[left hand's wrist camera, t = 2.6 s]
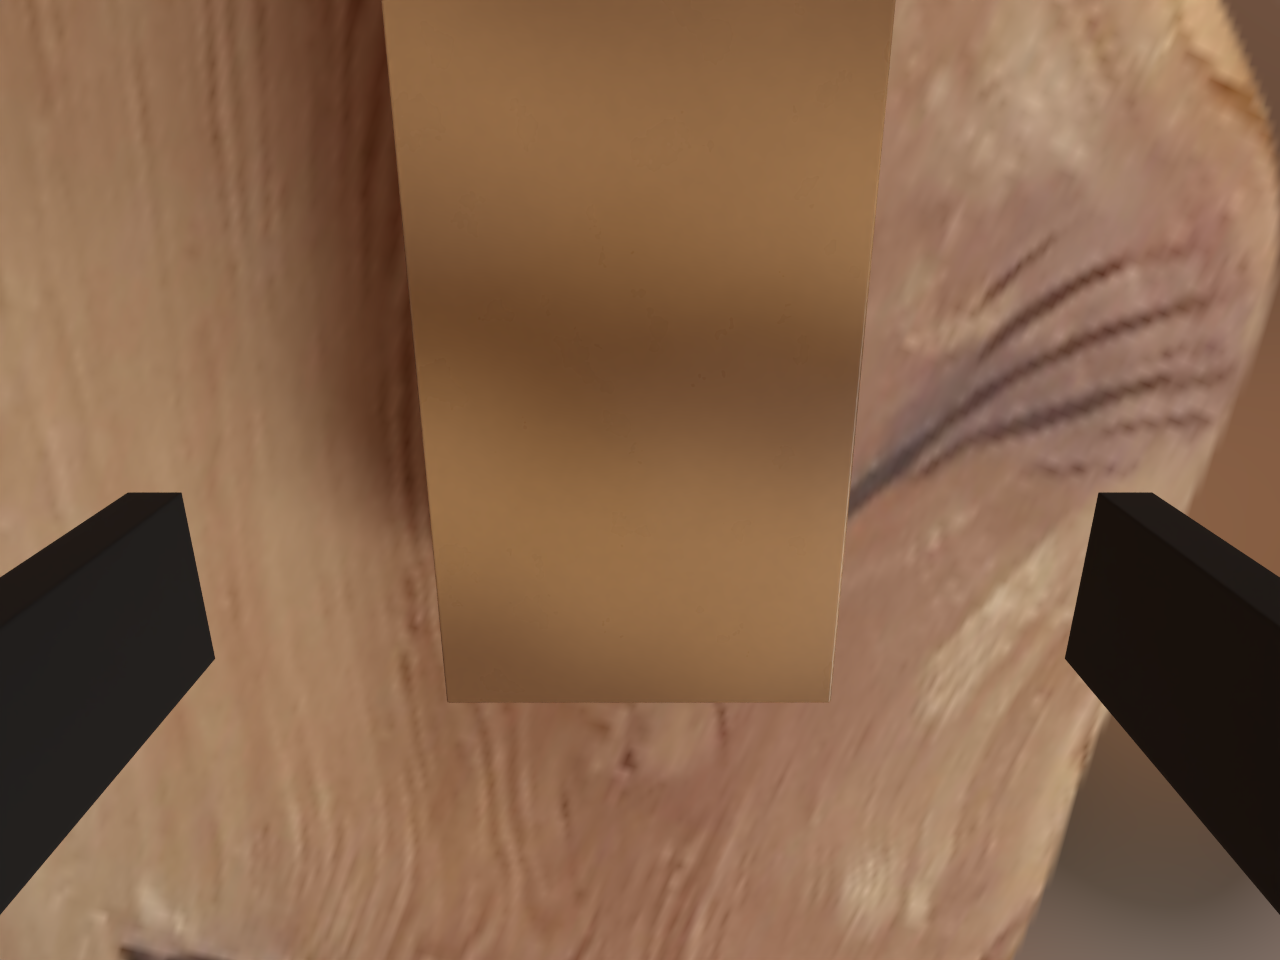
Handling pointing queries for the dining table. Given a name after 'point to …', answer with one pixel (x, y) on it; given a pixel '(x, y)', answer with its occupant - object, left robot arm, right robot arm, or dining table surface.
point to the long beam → (638, 333)
